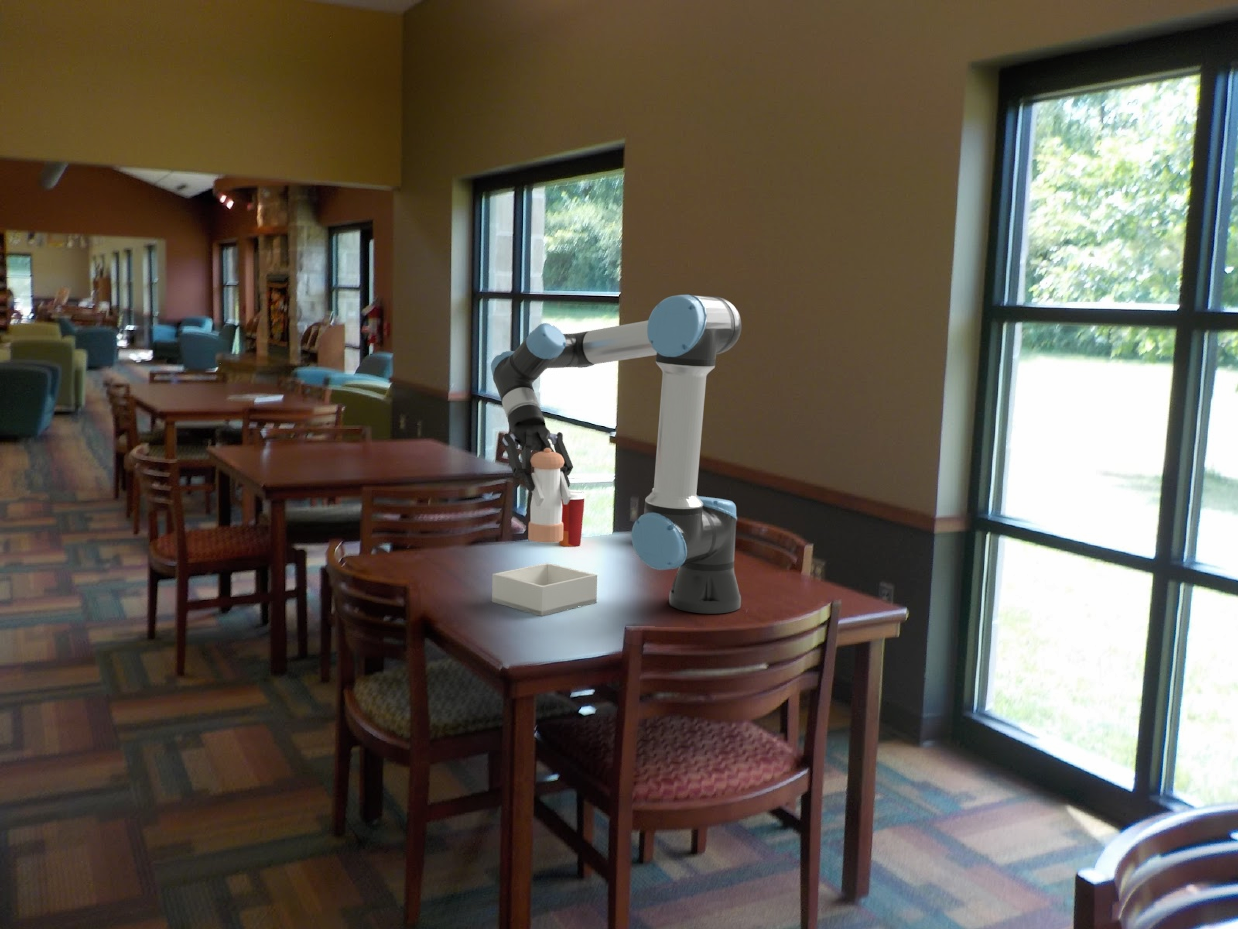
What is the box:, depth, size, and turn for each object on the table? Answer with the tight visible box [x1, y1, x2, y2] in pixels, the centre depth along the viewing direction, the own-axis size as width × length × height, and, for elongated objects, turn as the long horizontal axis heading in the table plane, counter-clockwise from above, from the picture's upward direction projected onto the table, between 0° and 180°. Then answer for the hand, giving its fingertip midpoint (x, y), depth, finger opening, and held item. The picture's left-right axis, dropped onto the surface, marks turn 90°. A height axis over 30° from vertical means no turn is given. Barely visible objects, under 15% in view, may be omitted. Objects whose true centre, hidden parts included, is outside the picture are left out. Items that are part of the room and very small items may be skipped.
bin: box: [491, 562, 598, 617], centre depth 238 cm, size 15×16×6 cm
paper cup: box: [558, 489, 586, 548], centre depth 297 cm, size 8×8×14 cm
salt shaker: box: [527, 448, 564, 544], centre depth 235 cm, size 7×7×19 cm
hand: (554, 501), depth 232 cm, fingers closed on salt shaker, 5 cm apart
